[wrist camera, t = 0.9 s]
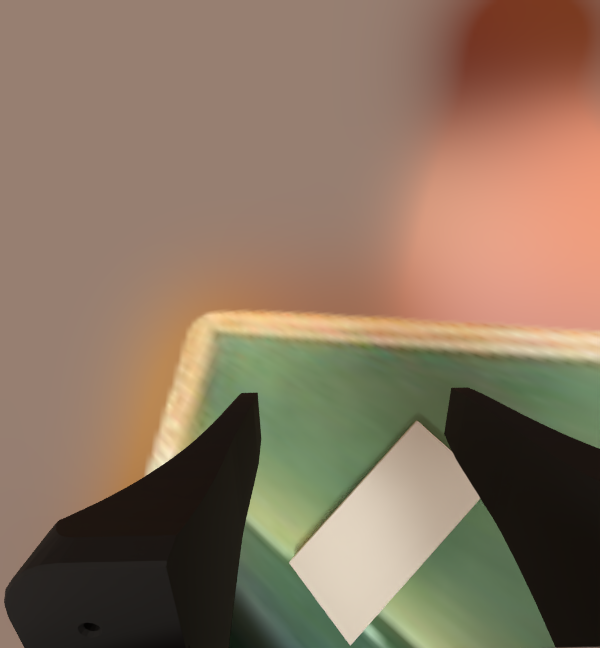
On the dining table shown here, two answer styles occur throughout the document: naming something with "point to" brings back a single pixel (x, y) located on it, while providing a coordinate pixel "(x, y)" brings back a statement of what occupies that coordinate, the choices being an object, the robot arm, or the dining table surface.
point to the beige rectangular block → (384, 530)
